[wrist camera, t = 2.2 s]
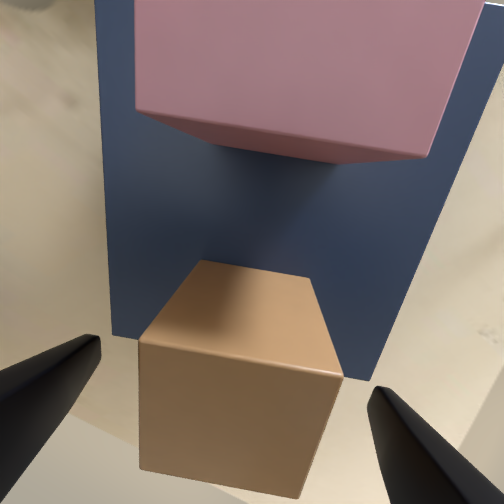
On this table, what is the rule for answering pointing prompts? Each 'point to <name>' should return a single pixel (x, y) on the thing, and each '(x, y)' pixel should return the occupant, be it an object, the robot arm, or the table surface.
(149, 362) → the kraft box
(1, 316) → the table surface
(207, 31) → the rose box
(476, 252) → the table surface
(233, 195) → the blue piece
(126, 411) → the table surface
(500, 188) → the table surface
